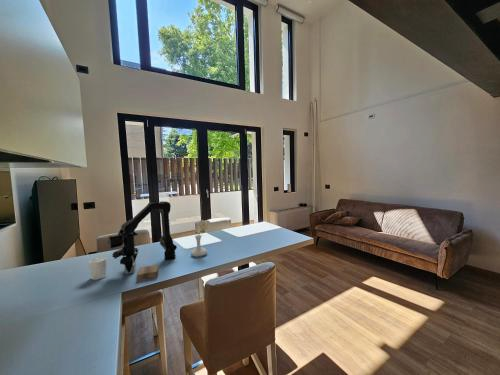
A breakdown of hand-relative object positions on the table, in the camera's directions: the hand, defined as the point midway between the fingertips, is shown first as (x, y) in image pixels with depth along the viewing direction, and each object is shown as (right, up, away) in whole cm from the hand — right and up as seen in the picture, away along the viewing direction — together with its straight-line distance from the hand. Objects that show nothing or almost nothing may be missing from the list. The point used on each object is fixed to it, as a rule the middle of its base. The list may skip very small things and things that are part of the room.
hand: (130, 269), depth 126 cm
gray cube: (0, -1, 0) cm, 1 cm away
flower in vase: (+36, +1, +24) cm, 43 cm away
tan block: (+14, -2, -6) cm, 15 cm away
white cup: (-15, -2, -6) cm, 16 cm away
